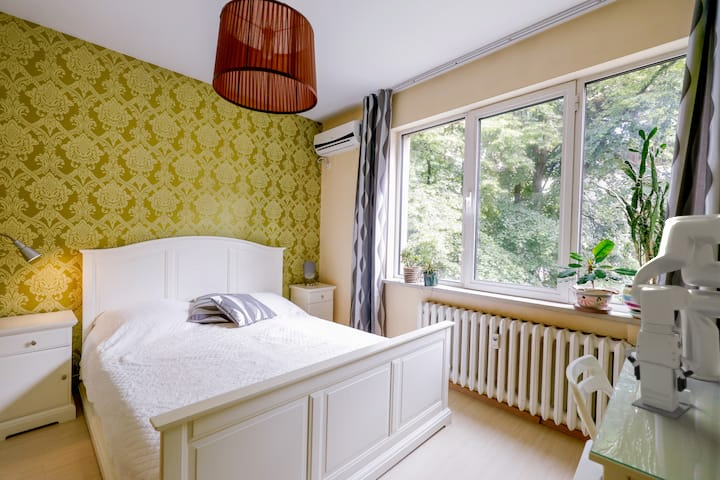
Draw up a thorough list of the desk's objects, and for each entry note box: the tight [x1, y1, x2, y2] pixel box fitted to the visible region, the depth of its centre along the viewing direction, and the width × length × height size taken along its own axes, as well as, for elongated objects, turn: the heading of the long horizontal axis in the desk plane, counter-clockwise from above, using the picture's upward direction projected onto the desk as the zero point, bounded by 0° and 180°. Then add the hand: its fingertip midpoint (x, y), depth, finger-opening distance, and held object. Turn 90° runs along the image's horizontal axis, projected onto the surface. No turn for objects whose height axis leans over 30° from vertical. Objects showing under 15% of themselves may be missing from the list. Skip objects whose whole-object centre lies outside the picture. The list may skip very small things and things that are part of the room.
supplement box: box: [639, 362, 680, 412], centre depth 99 cm, size 7×7×13 cm
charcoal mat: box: [631, 397, 690, 420], centre depth 99 cm, size 12×10×1 cm
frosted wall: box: [639, 383, 692, 406], centre depth 105 cm, size 1×12×4 cm, turn 31°
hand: (659, 384), depth 99 cm, fingers open, 9 cm apart
